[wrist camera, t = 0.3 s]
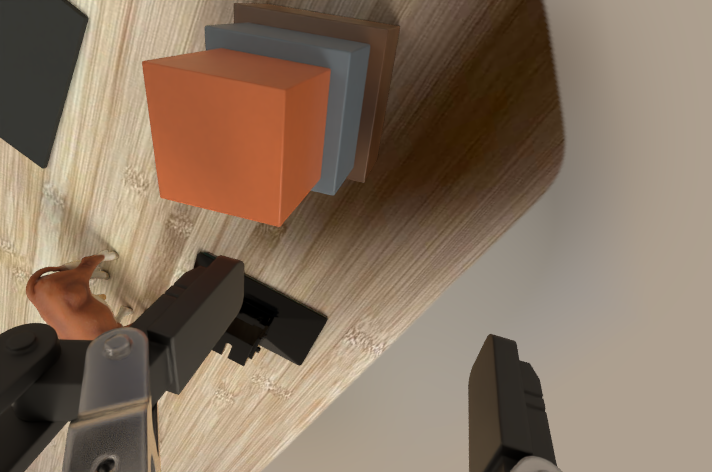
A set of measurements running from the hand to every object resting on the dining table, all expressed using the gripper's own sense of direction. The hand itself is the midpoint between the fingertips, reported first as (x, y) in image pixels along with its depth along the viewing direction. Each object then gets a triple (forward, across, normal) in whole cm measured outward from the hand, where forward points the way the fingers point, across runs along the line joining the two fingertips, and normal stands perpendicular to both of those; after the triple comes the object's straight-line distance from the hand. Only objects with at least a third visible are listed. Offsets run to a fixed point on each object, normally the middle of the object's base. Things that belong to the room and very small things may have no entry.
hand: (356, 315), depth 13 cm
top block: (+8, +6, -3) cm, 10 cm away
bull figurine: (+16, +23, +21) cm, 35 cm away
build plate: (+16, +10, +17) cm, 26 cm away
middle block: (+12, +6, -3) cm, 14 cm away
